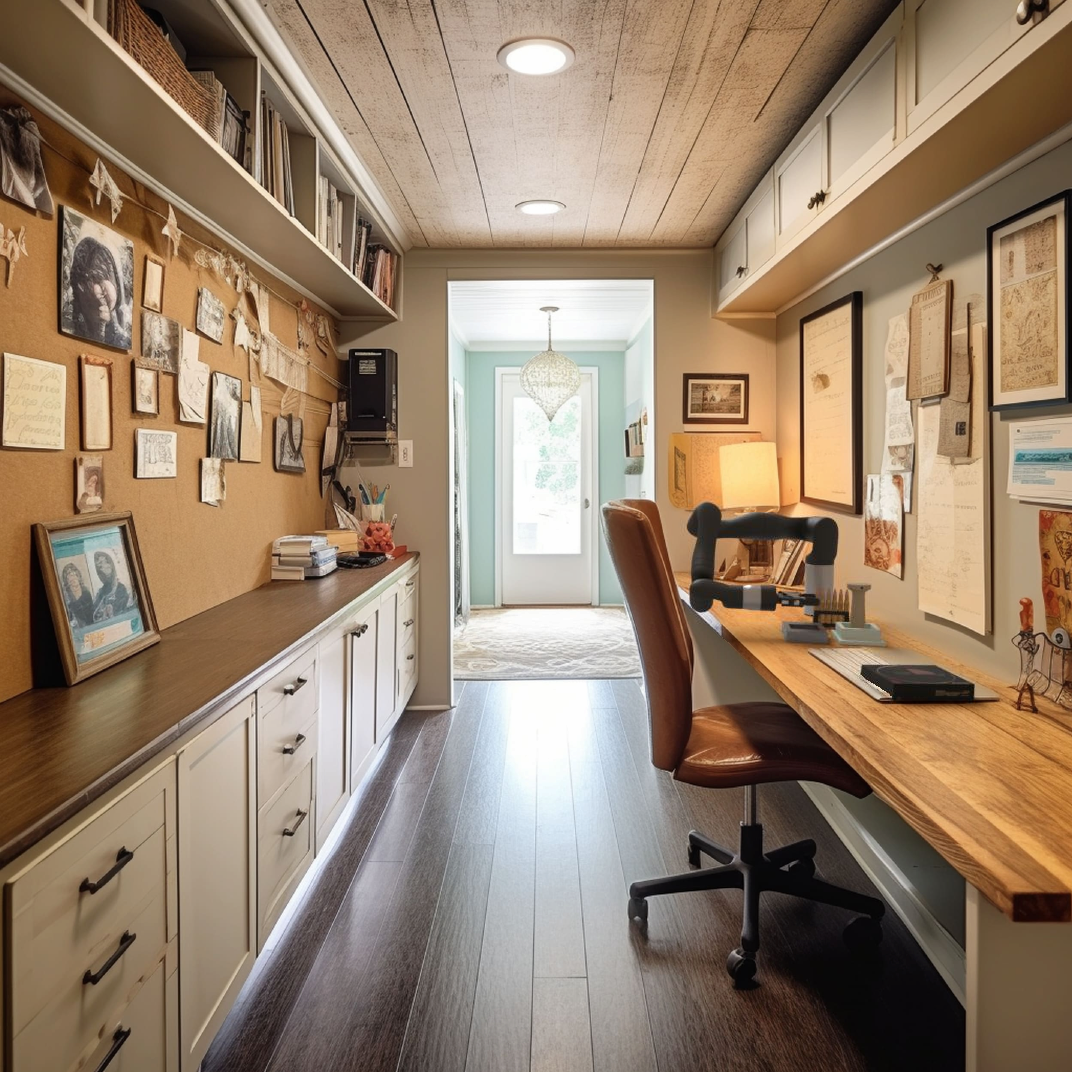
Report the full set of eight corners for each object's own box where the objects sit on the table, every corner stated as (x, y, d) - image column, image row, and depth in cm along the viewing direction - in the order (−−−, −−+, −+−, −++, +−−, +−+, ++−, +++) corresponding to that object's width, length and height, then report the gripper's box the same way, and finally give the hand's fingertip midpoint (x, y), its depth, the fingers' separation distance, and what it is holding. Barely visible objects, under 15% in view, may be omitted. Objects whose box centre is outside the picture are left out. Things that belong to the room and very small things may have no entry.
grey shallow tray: (830, 633, 226) (831, 619, 226) (874, 635, 223) (874, 621, 223) (839, 644, 210) (839, 630, 210) (886, 646, 208) (886, 632, 207)
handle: (842, 634, 219) (844, 582, 218) (865, 634, 219) (867, 582, 218) (848, 637, 214) (850, 585, 213) (871, 638, 214) (873, 585, 213)
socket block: (781, 631, 229) (781, 621, 229) (820, 632, 227) (820, 622, 226) (786, 641, 214) (786, 631, 213) (827, 643, 211) (828, 633, 211)
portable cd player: (932, 681, 173) (933, 664, 173) (973, 703, 156) (974, 684, 156) (859, 681, 173) (860, 663, 173) (892, 702, 156) (893, 683, 156)
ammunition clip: (848, 627, 236) (849, 588, 235) (849, 628, 234) (850, 589, 233) (812, 625, 238) (813, 587, 238) (812, 626, 237) (813, 588, 236)
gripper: (760, 588, 215) (821, 590, 211) (757, 581, 229) (814, 583, 225) (759, 614, 216) (820, 617, 212) (757, 606, 229) (814, 608, 226)
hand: (817, 599), depth 219 cm, fingers open, 8 cm apart
